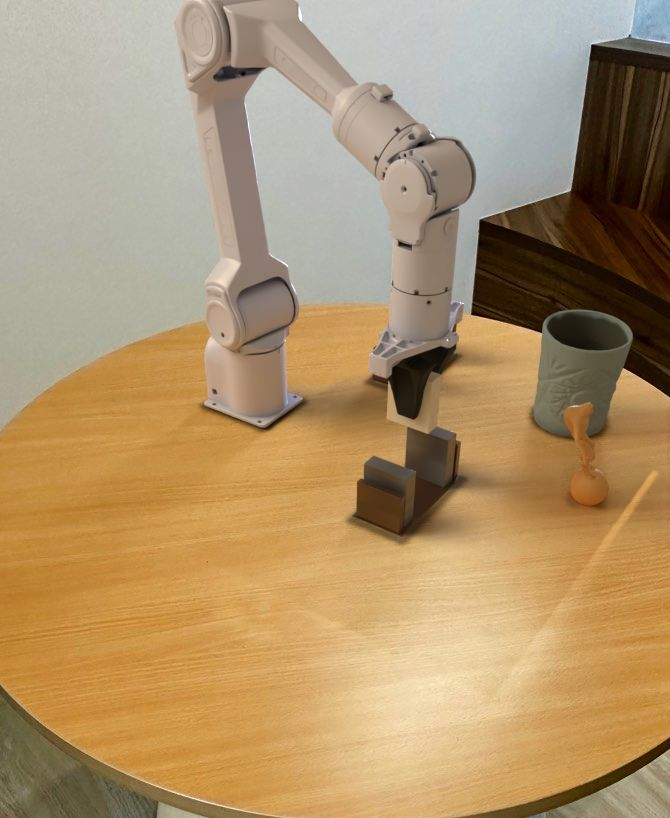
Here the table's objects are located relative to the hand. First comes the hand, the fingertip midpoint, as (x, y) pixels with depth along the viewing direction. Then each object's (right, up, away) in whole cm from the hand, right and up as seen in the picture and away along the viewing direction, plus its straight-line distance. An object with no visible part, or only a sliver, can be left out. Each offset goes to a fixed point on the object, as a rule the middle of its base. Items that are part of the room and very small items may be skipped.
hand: (413, 410), depth 90 cm
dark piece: (+2, +9, +26) cm, 28 cm away
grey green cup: (+20, +1, +18) cm, 27 cm away
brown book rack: (0, -9, +4) cm, 10 cm away
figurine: (+18, -9, +5) cm, 21 cm away
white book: (0, -1, +1) cm, 2 cm away
